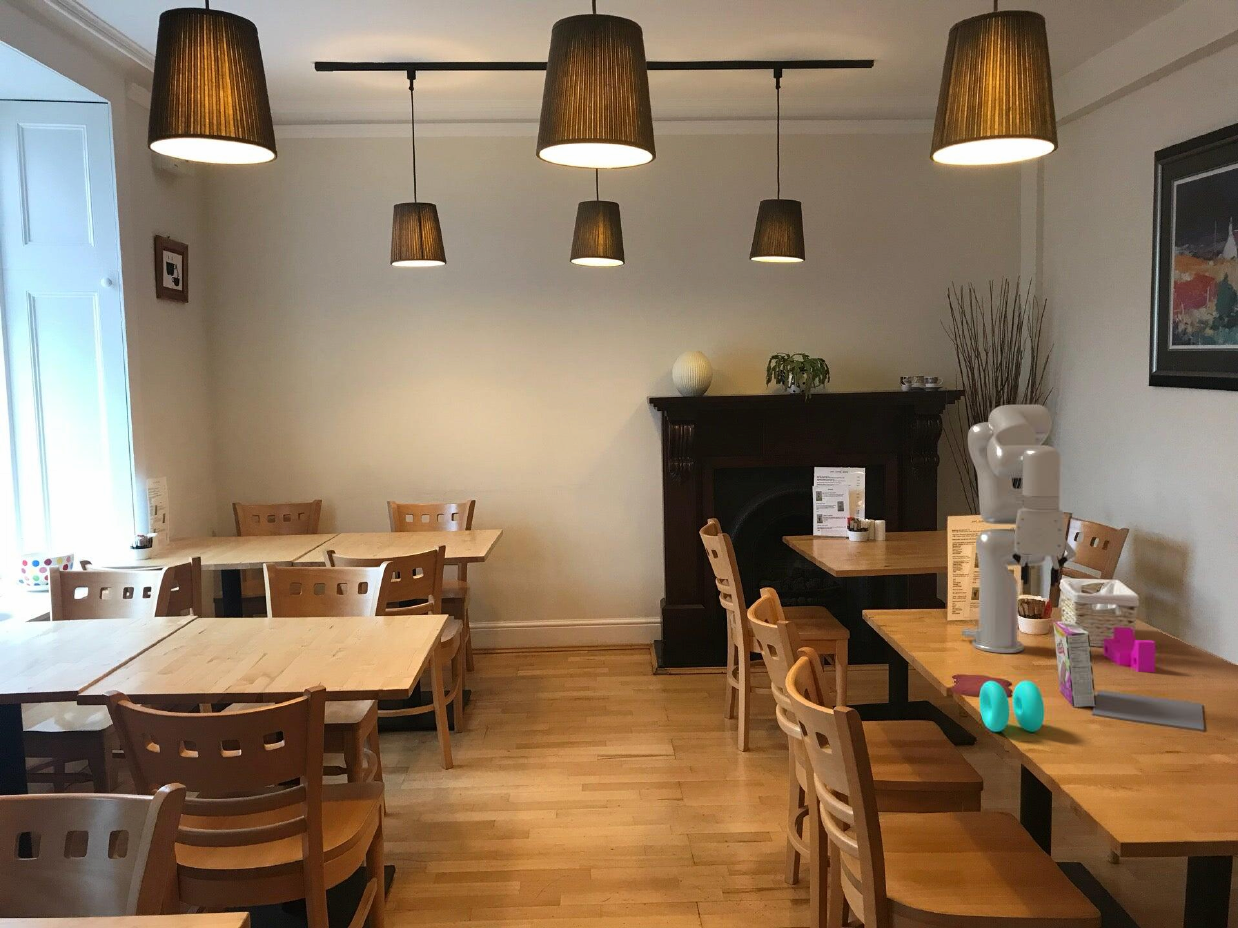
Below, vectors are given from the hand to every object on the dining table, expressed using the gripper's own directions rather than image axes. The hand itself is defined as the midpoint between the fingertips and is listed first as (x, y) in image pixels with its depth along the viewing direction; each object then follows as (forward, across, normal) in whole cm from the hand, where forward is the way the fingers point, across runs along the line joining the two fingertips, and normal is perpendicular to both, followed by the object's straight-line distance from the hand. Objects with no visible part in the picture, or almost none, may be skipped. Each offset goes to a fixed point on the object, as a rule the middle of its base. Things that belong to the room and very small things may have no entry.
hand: (1039, 583), depth 208 cm
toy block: (+26, +16, +38) cm, 48 cm away
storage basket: (+26, +8, +61) cm, 67 cm away
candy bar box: (+25, +8, 0) cm, 27 cm away
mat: (+25, +22, 0) cm, 33 cm away
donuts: (+26, -2, -26) cm, 37 cm away
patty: (+26, -12, -1) cm, 29 cm away
